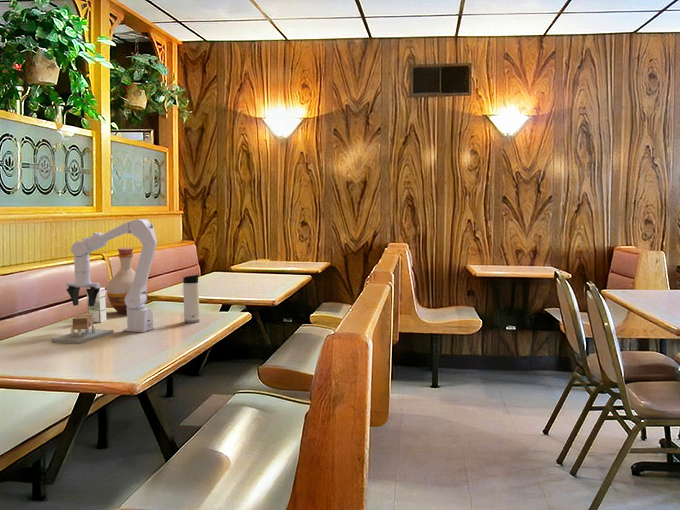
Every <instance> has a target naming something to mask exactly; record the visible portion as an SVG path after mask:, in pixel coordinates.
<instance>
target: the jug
mask: <svg viewBox="0 0 680 510" xmlns="http://www.w3.org/2000/svg"><path fill="white" fill-rule="evenodd" d="M133 250H134V248H133V247H132V246H131V247H130V246H129V247H125V246H124V247H117V251H118V255H117V257H118V258H119V262H120V269H119V270H118V271H117V273H115V275H113V277H112V278H111V279H110V280H109V281H108V282H107V285H106V288H105V291H106V295H107V298H108V299H107V300H108V302H109V303H110V305H111V306H112V308H113V310H115V312H117V313H118V314H119V315H127V306H126V304H125V302H124V299H125V296H126V295H127V294H128V292H129V289H130V287H131V286H132V284H133V281H134V277H135V273H136V270H134V269H133V268H132V259H133V257H134V253H133V252H134V251H133ZM146 286H147V284H146ZM147 287H148V286H147ZM147 293H148V291H147V292H146V294H147ZM147 295H148V294H147Z"/></svg>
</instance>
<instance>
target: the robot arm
mask: <svg viewBox="0 0 680 510" xmlns="http://www.w3.org/2000/svg"><path fill="white" fill-rule="evenodd" d="M155 232H156V231H155V226H154V225H153V224H152V223H151V221H150V220H149V219H147V218H140V219H133V220H131V221H127V222H124V223H122V224H120V225H118V226H117V227H113V229H111V230H108V231H107V232H105V233H103V232H100V231H99V232H97V231H95V232H93V233H92V235H90V236H89V237H87V238H86V237H83V238H82V240H80V241H79V240H78V241H75V242H74V243H73V244H72V245H71V247H70V248H71V249H70V251H71V253H72V254H73V258H74V259H73V264H74V265H73V266H74V268H73V269H74V281H68V282H65V286H66V287H65V288H66V291H67V293H68V295H69V297H70V300H71V302H72V305H73V306H74V307H75V306H79V302H80V301H79V300H80V299H79V296H80V290H81V288H84V289H85V288H86V290H85V291H86V294H87V293H88V298H89V306H94V304H95V300H96V297H97V294H98V292H99V290H100V288H101V283H100V282H93V281H91V280H92V279H91V263H90V262H91V260H90V255H91V253H92V252H95V251H97V250H99V249H101V248H104V247H105V246H107V245H108V244H107V243H108V241H110V240H113V239H115V238H117V237H119V236H122V235H125V234H127V235H128V234H132V235H133V236H134V237H135V238H137V239H138V240H139V242H140V243H141V244H142V247H141V251H140V255H139V258H138V262H137V265H136V270H135V272H136V273H135V277H134V281H133V284H132V286H131V287H130V289H129V292H128V294H127V295H126V296H125V299H124V302H125V304H126V306H127V314H126V321H127V322H126V323H127V324H126V326H127V328H125V329H122V331H123V332H134V333H135V332H136V333H145V332H148V331H150V330H154V329H155V327H154V316H153V315H154V313H153V310H152V309H151V308H147V305H146V302H147V300H148V294H146V292H147V293H148V286H146V285H147V283H148V280H149V275H150V272H151V269H152V265H153V261H154V257H155V253H156V249H157V247H158V240H157V236H156V233H155ZM89 288H90V289H89Z"/></svg>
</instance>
